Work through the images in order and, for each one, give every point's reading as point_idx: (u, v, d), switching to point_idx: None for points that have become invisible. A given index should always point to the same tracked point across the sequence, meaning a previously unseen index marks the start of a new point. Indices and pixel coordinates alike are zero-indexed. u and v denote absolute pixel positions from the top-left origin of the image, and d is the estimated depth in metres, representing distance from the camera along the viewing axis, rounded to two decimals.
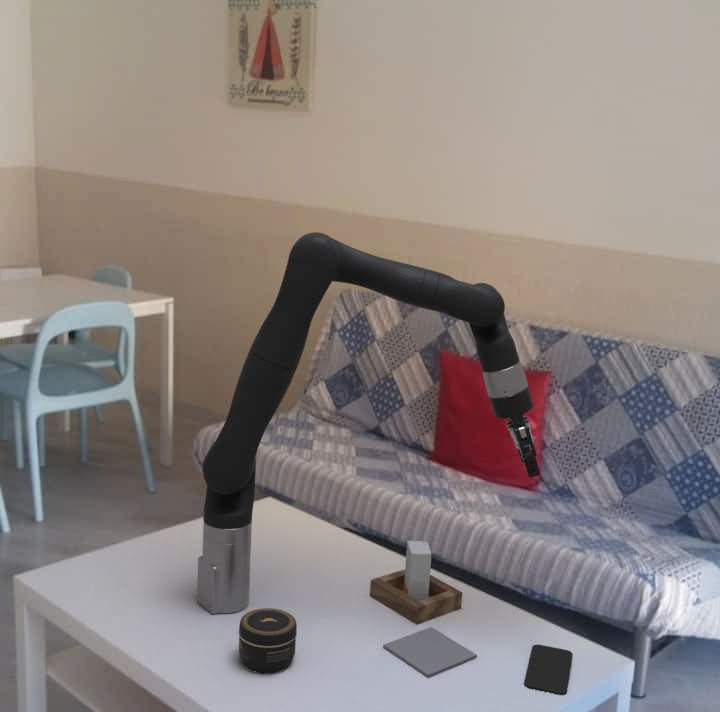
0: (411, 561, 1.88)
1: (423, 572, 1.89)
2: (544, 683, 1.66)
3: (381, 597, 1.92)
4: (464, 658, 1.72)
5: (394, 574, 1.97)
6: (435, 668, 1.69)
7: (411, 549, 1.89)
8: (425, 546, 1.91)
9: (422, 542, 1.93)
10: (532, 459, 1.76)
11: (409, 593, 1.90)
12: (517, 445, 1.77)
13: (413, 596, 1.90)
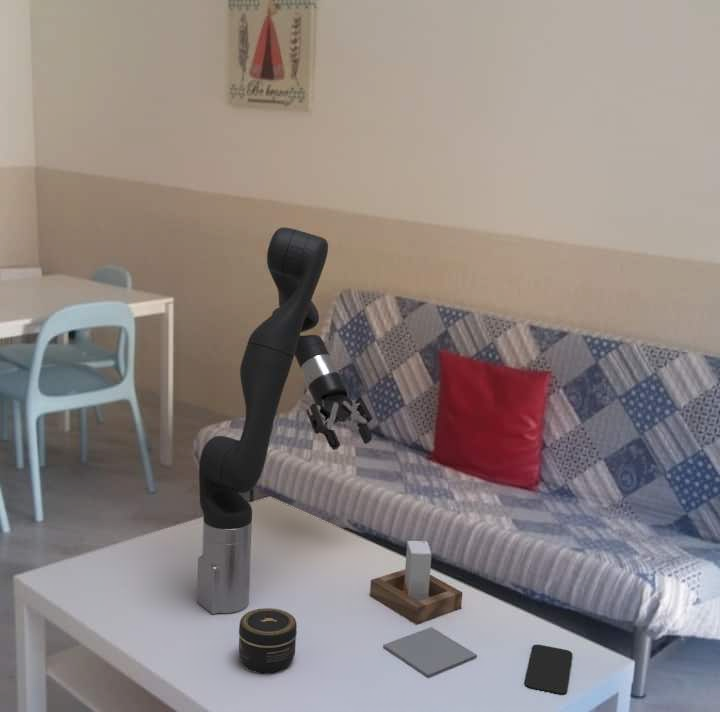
0: (411, 561, 1.88)
1: (423, 572, 1.89)
2: (544, 683, 1.66)
3: (381, 597, 1.92)
4: (464, 658, 1.72)
5: (394, 574, 1.97)
6: (435, 668, 1.69)
7: (411, 549, 1.89)
8: (425, 546, 1.91)
9: (422, 542, 1.93)
10: None
11: (409, 593, 1.90)
12: (358, 413, 2.08)
13: (413, 596, 1.90)
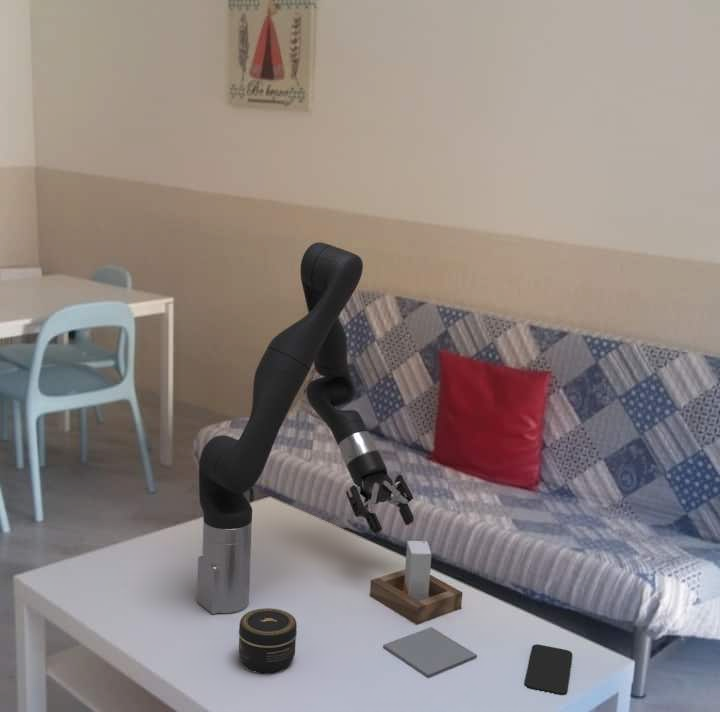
0: (411, 561, 1.88)
1: (423, 572, 1.89)
2: (544, 683, 1.66)
3: (381, 597, 1.92)
4: (464, 658, 1.72)
5: (394, 574, 1.97)
6: (435, 668, 1.69)
7: (411, 549, 1.89)
8: (425, 546, 1.91)
9: (422, 542, 1.93)
10: None
11: (409, 593, 1.90)
12: None
13: (413, 596, 1.90)
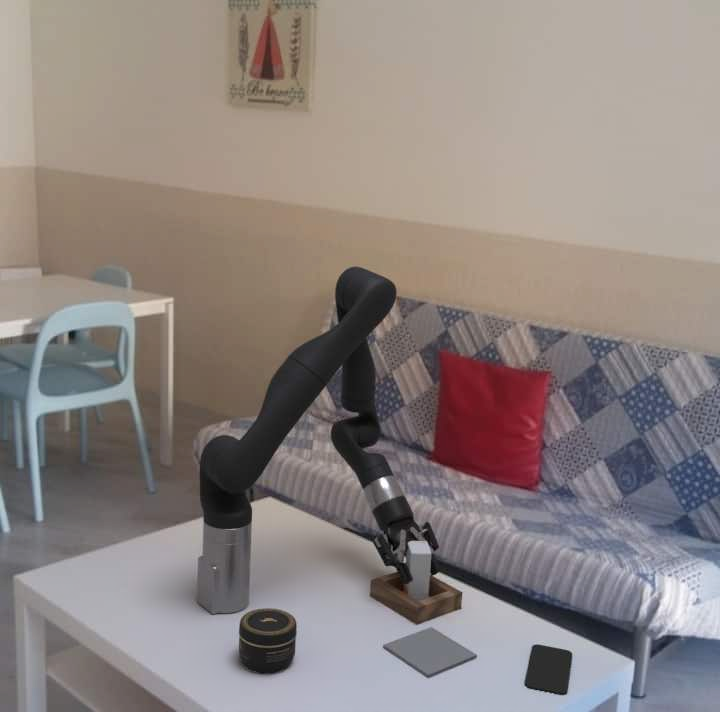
0: (411, 561, 1.88)
1: (423, 572, 1.89)
2: (544, 683, 1.66)
3: (381, 597, 1.92)
4: (464, 658, 1.72)
5: (394, 574, 1.97)
6: (435, 668, 1.69)
7: (411, 549, 1.89)
8: (425, 546, 1.91)
9: (422, 542, 1.93)
10: None
11: (409, 593, 1.90)
12: None
13: (413, 596, 1.90)
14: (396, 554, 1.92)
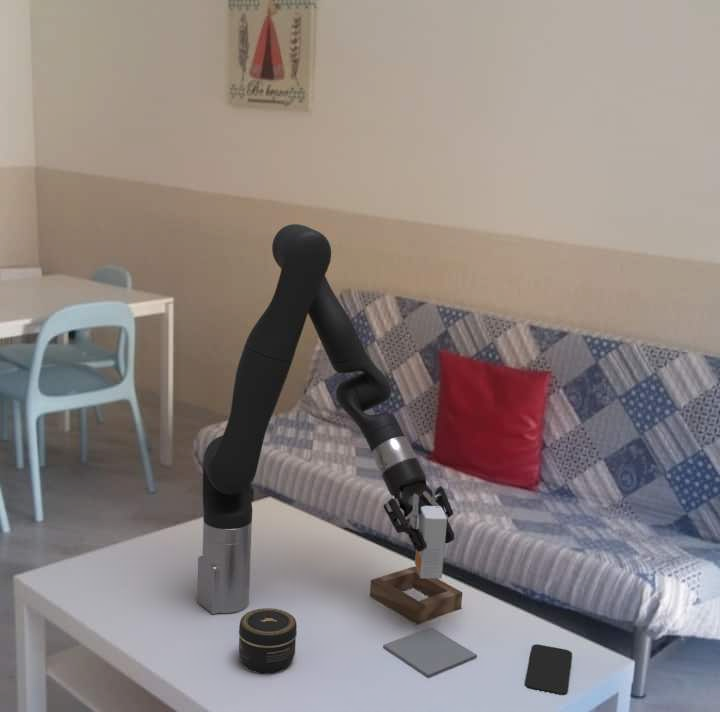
0: (425, 527, 1.75)
1: (437, 539, 1.76)
2: (545, 683, 1.66)
3: (381, 597, 1.92)
4: (464, 658, 1.72)
5: (394, 574, 1.97)
6: (435, 668, 1.69)
7: (424, 514, 1.76)
8: (440, 511, 1.78)
9: (436, 507, 1.80)
10: None
11: (422, 561, 1.76)
12: None
13: (427, 565, 1.77)
14: (408, 520, 1.78)
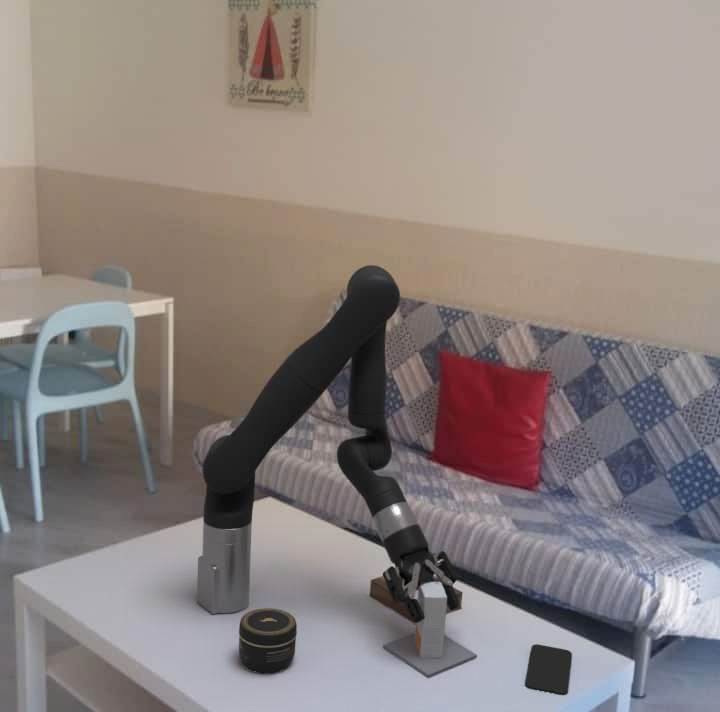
0: (424, 606, 1.69)
1: (437, 618, 1.70)
2: (545, 683, 1.66)
3: (381, 597, 1.92)
4: (464, 658, 1.72)
5: None
6: (435, 668, 1.69)
7: (424, 593, 1.70)
8: (440, 588, 1.72)
9: (436, 583, 1.74)
10: None
11: (422, 641, 1.71)
12: None
13: (427, 644, 1.71)
14: (407, 589, 1.72)
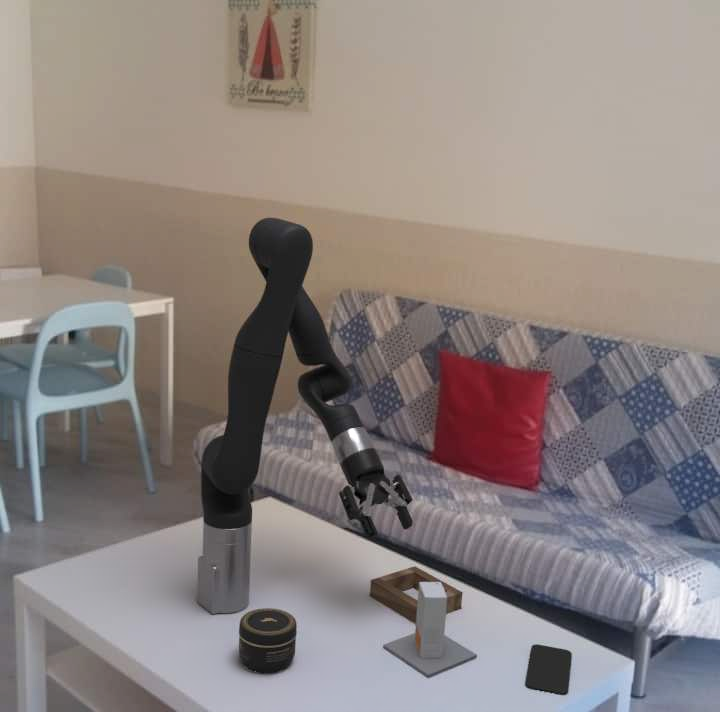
0: (424, 606, 1.69)
1: (437, 618, 1.70)
2: (545, 683, 1.66)
3: (381, 597, 1.92)
4: (464, 658, 1.72)
5: (394, 574, 1.97)
6: (435, 668, 1.69)
7: (424, 593, 1.70)
8: (440, 588, 1.72)
9: (436, 583, 1.74)
10: None
11: (422, 641, 1.71)
12: None
13: (427, 644, 1.71)
14: (362, 508, 1.80)
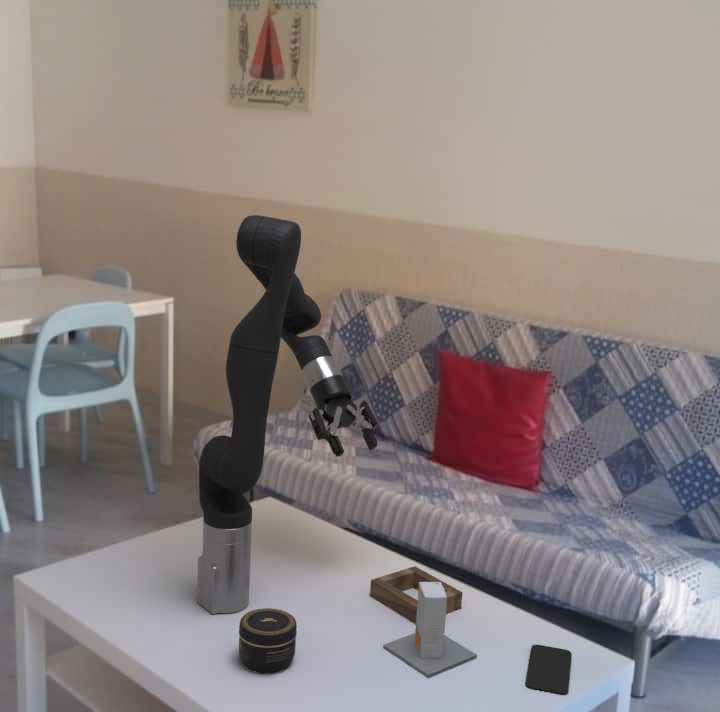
0: (424, 606, 1.69)
1: (437, 618, 1.70)
2: (545, 683, 1.66)
3: (381, 597, 1.92)
4: (464, 658, 1.72)
5: (394, 574, 1.97)
6: (435, 668, 1.69)
7: (424, 593, 1.70)
8: (440, 588, 1.72)
9: (436, 583, 1.74)
10: None
11: (422, 641, 1.71)
12: None
13: (427, 644, 1.71)
14: (330, 429, 1.94)
